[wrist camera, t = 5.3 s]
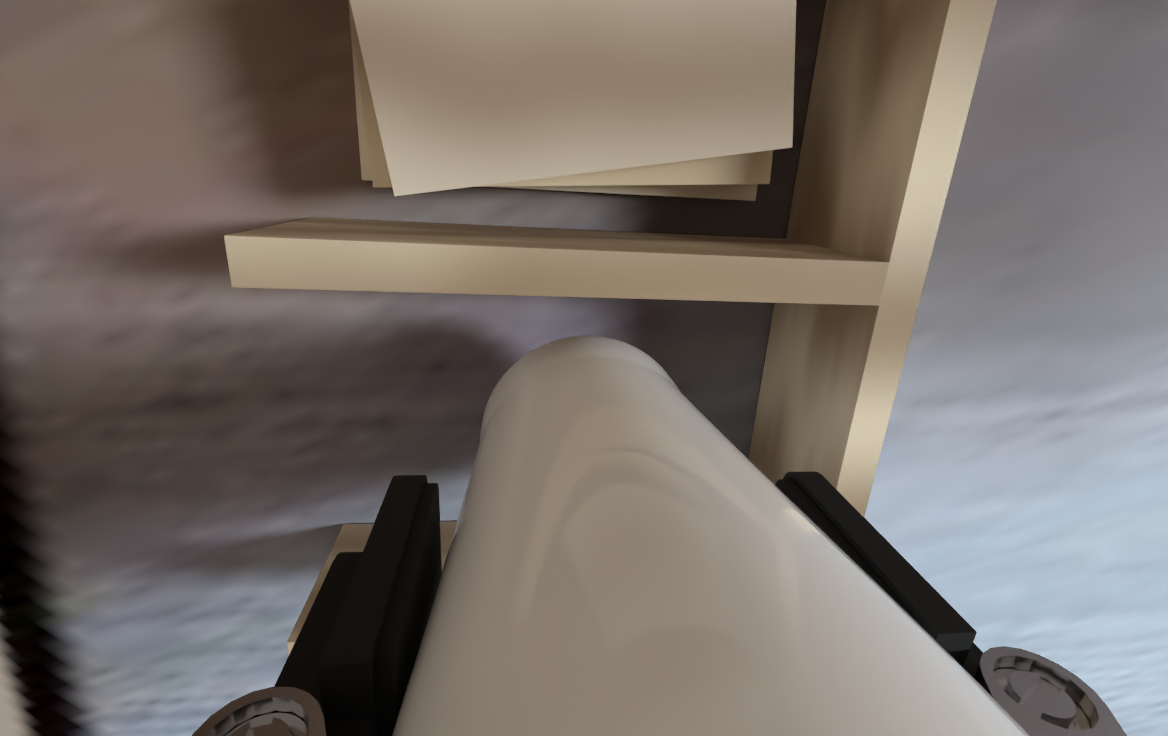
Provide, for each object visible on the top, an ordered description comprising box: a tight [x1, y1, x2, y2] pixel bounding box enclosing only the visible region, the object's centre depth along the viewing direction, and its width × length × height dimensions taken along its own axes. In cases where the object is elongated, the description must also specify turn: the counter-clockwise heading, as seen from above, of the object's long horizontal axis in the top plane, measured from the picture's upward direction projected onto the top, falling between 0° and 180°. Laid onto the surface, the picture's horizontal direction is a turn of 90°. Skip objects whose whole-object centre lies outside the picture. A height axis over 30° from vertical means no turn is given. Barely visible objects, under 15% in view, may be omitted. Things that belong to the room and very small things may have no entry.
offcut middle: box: [349, 0, 773, 187], centre depth 14 cm, size 6×10×2 cm, turn 91°
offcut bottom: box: [348, 0, 758, 201], centre depth 15 cm, size 6×11×2 cm, turn 87°
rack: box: [224, 0, 997, 654], centre depth 14 cm, size 20×15×5 cm
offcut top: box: [350, 0, 796, 196], centre depth 12 cm, size 5×9×2 cm, turn 97°
